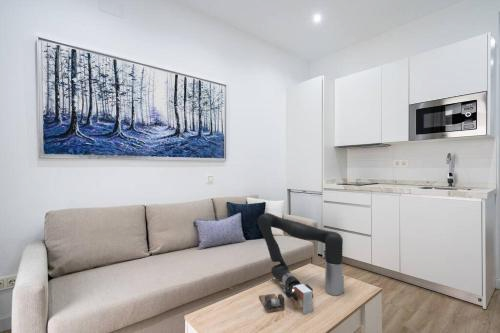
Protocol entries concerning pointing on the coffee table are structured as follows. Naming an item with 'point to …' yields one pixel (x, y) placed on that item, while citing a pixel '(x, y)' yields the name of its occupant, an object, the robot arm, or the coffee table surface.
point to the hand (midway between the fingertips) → (304, 297)
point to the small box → (303, 298)
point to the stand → (273, 302)
